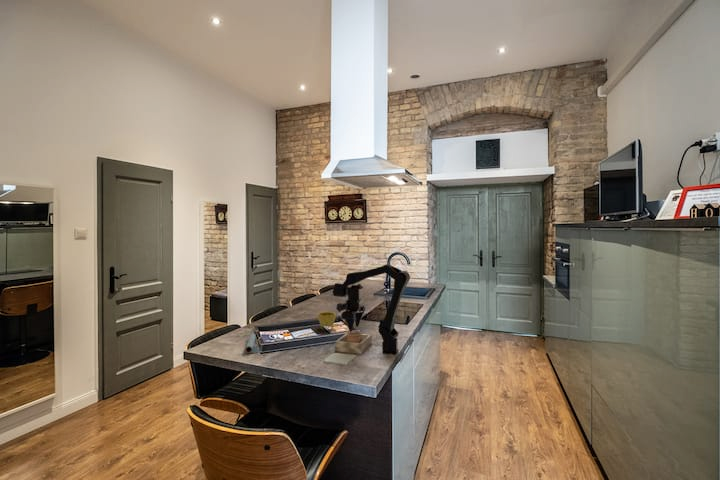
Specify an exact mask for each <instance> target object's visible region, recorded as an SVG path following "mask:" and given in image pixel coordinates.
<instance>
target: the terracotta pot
mask: <svg viewBox="0 0 720 480" xmlns="http://www.w3.org/2000/svg"><path fill="white" fill-rule="evenodd" d="M346 333H347V342H352V343H360V336H361V334H362V332H361V331H359V330H352V331H347V332H346Z"/></svg>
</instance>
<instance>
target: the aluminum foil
mask: <svg viewBox="0 0 720 480" xmlns="http://www.w3.org/2000/svg"><path fill="white" fill-rule="evenodd" d="M256 338H257V336H256V334H255V333H250V334H249V336H248V340H247V342H246V345H245V348H244V351H245V353H246V354H254V353H255V354H256V353H258V352H259V347H260V346H254V345H255V341H256Z"/></svg>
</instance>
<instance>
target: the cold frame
mask: <svg viewBox="0 0 720 480" xmlns="http://www.w3.org/2000/svg"><path fill="white" fill-rule="evenodd" d="M372 337H373V336H372V334H369V333H368V334H365V333H361V336H360V343H352V342H347V332H345V334H343V335H342V336H340V337H339V338H338V339H337V340H335V341H334V351H335V352H341V353H342V352H343V353H348V354H351V353H352V354H359V355H362V354H363V353H364V352H365V351H366V350H367V349H368V347H370V346H371V344H372V341H373V340H372Z"/></svg>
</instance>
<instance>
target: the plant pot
mask: <svg viewBox="0 0 720 480" xmlns="http://www.w3.org/2000/svg"><path fill="white" fill-rule="evenodd" d="M336 316H337V315H336V313H335V312H332V311H322V312H318V314H317V320H318V321H319V326H322V327H324V326H331V325H333V324H335V320H336ZM333 326H334V325H333Z"/></svg>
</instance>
